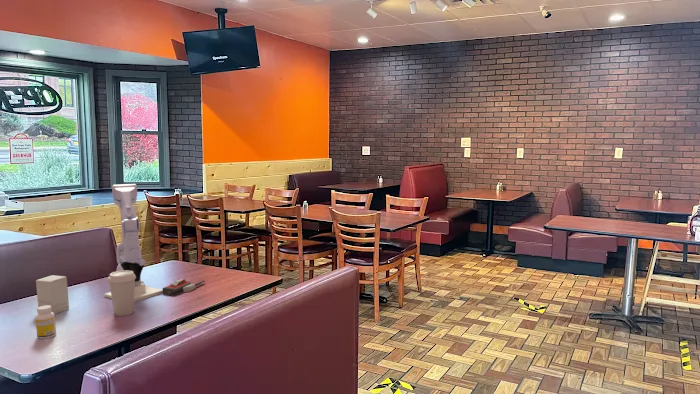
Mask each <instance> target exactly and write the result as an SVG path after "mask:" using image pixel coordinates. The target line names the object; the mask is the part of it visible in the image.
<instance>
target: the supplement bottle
mask: <svg viewBox="0 0 700 394" xmlns="http://www.w3.org/2000/svg"><path fill="white" fill-rule="evenodd" d="M51 311H52V309H51V306H50V305H45V306H41V307H38V306H37V308H36V312H37V314H36V315H35V318H34V319H35V329H36V337H37V339H39V338H40V340H45V338H47V339H51V338H53V337H55V336H56V335H57V327H56V317H55V314H54V313H53V312H51ZM50 337H51V338H50Z"/></svg>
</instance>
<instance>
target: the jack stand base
mask: <svg viewBox="0 0 700 394" xmlns="http://www.w3.org/2000/svg"><path fill="white" fill-rule="evenodd" d="M161 294H162V295H163V289H160V288H156V287H153V286H152V287H151V286H147V285H146V284H145V283H144V282H143V283H141V285H138V286H135V287H134V303H135V302H138V301H141V300H146V299H148V298H151V297H155V296H157V295H161ZM103 296H104V298H108V299H111V300H112V296H111V291H109V292H105V293H104V295H103Z"/></svg>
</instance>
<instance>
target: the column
mask: <svg viewBox="0 0 700 394" xmlns="http://www.w3.org/2000/svg"><path fill="white" fill-rule="evenodd" d="M141 279H142V278H141V276H140V280H139V281H136V282H135V284H134V287H135V286H138V285H141V281H142V280H141Z"/></svg>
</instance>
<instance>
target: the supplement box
mask: <svg viewBox="0 0 700 394" xmlns="http://www.w3.org/2000/svg"><path fill="white" fill-rule="evenodd" d="M35 285H36V295H37V296H36V297H37V308H38V307H41V306H45V305H50V306H51V309H52V311H51V312H53V313H54V315H55V314H59V313H61V312H64V311H66V310H69V309H70V303H69V292H68V291H69V290H68V278H67V276H65V275H56V274H55V275H54V274H52V275H48V276H46V277H42V278H39V279H36V280H35Z"/></svg>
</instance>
